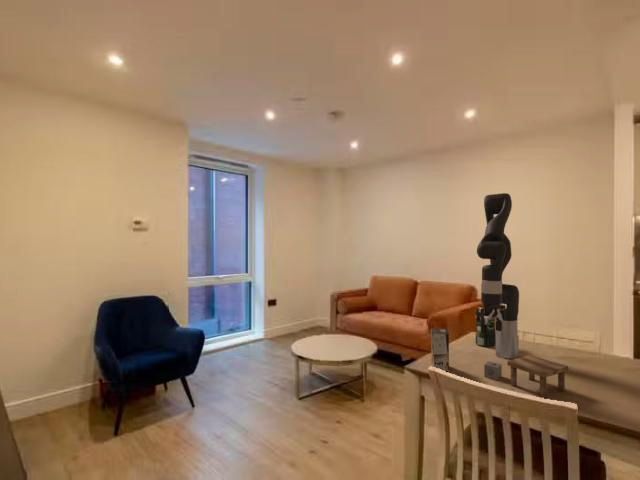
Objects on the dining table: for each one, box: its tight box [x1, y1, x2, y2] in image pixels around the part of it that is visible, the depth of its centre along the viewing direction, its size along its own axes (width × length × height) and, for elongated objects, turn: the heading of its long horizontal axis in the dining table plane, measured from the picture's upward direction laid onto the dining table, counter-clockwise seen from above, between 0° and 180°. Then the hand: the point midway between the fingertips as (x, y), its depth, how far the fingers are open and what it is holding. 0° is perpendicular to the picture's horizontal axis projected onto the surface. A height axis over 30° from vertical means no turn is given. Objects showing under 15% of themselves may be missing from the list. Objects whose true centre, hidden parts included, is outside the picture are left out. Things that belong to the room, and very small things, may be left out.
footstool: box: [506, 354, 569, 399], centre depth 135 cm, size 14×14×9 cm
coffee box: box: [430, 327, 450, 373], centre depth 156 cm, size 9×6×16 cm
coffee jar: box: [474, 309, 495, 348], centre depth 186 cm, size 10×8×19 cm
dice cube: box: [483, 360, 503, 381], centre depth 146 cm, size 5×5×5 cm
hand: (491, 332), depth 145 cm, fingers open, 8 cm apart
